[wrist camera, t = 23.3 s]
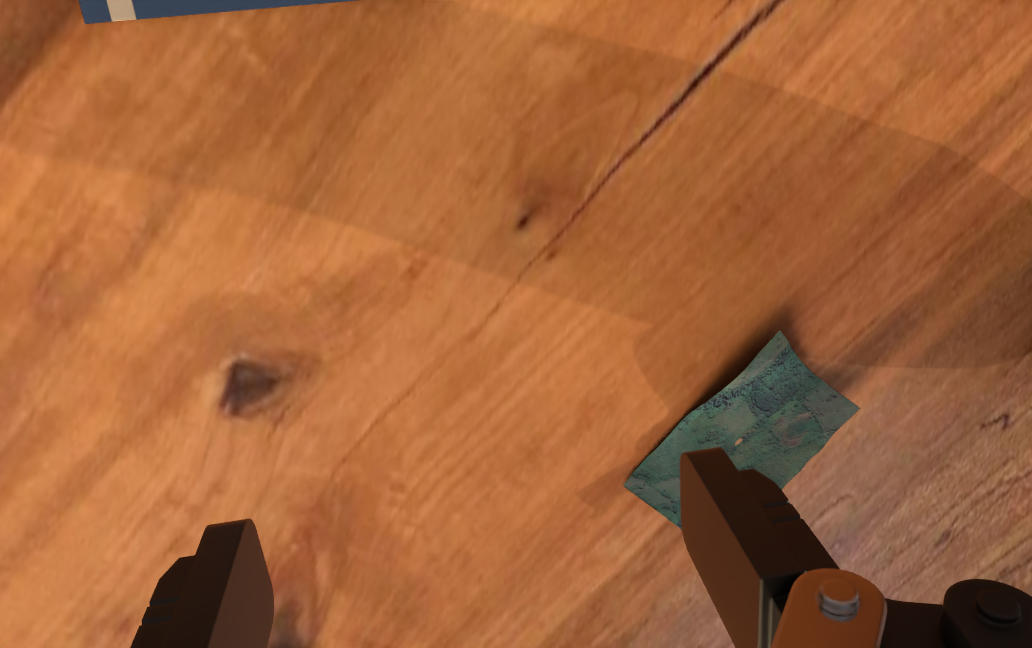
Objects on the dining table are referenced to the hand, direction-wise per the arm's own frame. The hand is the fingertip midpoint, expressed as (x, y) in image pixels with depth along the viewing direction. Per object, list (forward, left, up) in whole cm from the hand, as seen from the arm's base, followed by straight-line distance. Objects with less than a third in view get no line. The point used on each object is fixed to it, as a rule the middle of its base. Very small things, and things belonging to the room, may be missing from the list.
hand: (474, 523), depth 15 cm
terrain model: (-18, +17, -27) cm, 36 cm away
